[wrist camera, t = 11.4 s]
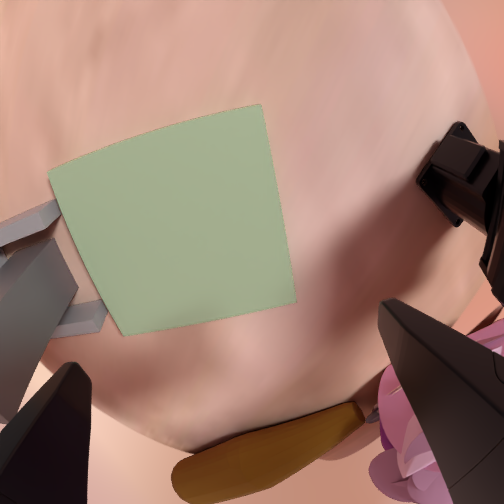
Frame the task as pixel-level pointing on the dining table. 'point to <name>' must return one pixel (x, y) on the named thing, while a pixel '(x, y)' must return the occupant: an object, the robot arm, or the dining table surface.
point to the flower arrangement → (413, 438)
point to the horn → (262, 456)
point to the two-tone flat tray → (172, 226)
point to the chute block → (29, 316)
